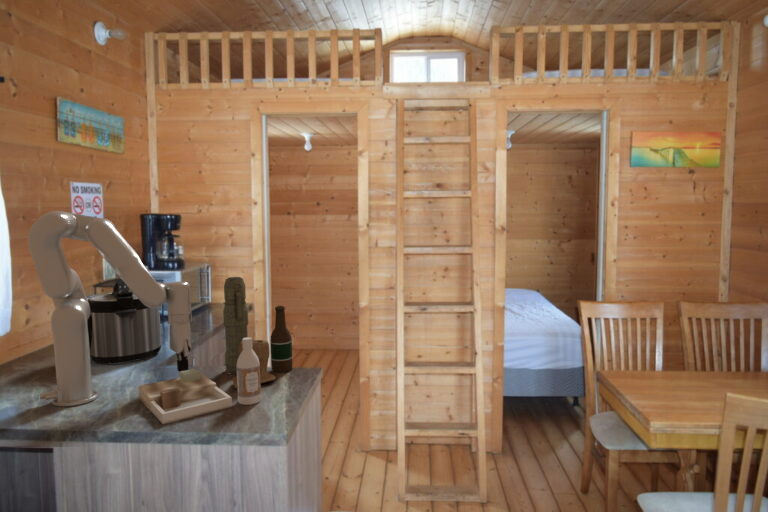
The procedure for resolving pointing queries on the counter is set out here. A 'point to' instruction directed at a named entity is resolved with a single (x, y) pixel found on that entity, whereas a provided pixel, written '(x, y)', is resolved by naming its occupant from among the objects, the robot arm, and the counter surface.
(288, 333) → the beer bottle
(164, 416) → the box
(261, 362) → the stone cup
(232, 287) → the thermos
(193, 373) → the sage tile
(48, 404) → the counter surface
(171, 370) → the counter surface
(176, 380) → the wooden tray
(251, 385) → the bath foam
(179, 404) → the walnut tile
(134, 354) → the pressure cooker
